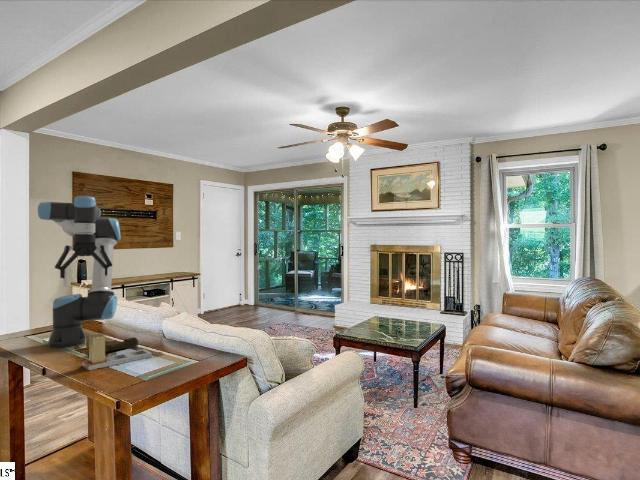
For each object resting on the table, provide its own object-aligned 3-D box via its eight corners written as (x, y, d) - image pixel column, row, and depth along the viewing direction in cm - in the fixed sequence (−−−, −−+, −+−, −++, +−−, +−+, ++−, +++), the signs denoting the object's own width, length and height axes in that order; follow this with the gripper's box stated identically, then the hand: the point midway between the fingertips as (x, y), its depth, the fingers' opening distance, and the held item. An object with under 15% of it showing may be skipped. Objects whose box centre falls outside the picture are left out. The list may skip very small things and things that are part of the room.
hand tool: (96, 356, 162) (96, 346, 162) (93, 355, 164) (93, 344, 164) (140, 347, 176) (140, 337, 176) (136, 345, 179) (136, 336, 179)
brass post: (89, 365, 149) (89, 335, 149) (101, 363, 153) (101, 333, 153) (92, 368, 146) (92, 337, 146) (104, 365, 150) (105, 335, 150)
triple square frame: (82, 365, 149) (82, 361, 149) (144, 352, 167) (144, 348, 167) (88, 370, 144) (88, 366, 144) (151, 356, 161) (151, 352, 161)
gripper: (50, 233, 143) (50, 288, 143) (120, 234, 161) (120, 283, 161) (46, 233, 148) (45, 286, 148) (114, 234, 166) (114, 281, 166)
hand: (84, 285), depth 154 cm, fingers open, 13 cm apart
